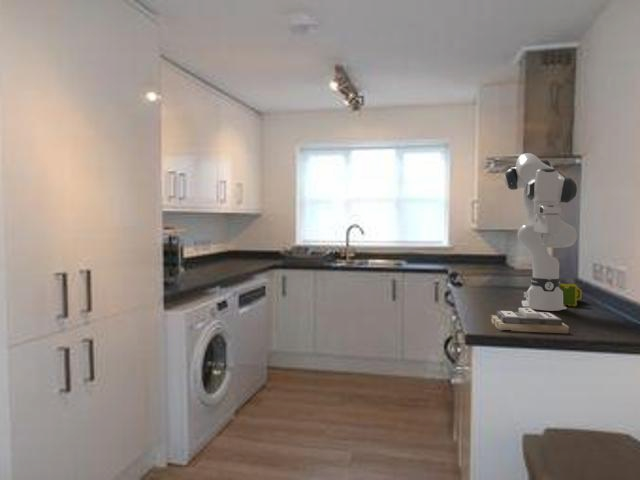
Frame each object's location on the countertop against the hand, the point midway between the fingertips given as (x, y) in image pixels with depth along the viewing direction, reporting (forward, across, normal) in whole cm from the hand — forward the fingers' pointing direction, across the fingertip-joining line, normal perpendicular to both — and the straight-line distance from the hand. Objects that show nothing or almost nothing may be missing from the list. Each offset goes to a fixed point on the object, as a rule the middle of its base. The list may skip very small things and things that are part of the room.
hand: (544, 244), depth 195 cm
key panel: (+31, +10, -8) cm, 34 cm away
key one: (+28, +10, -15) cm, 34 cm away
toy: (+32, -57, +24) cm, 70 cm away
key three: (+28, +10, -1) cm, 30 cm away
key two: (+27, +10, -8) cm, 30 cm away
